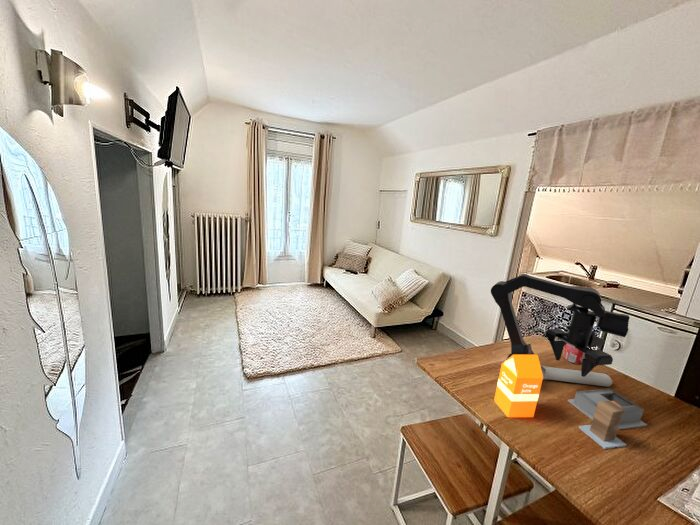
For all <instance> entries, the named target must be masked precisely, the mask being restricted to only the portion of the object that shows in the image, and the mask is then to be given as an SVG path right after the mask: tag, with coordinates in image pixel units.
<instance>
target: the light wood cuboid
mask: <svg viewBox="0 0 700 525" xmlns="http://www.w3.org/2000/svg"><path fill="white" fill-rule="evenodd" d="M623 413H624V410H622V409H621V408H619V407H618V406H616V405H615V404H613V403H612V402H610V401H602V402H598V404H597V407H596V411H595V414H594V417H593V420H592V419H591V420H592V421H591V423H590V425H591V427H590V431H591V432H592V433H594V434H595V435H596V436H598V437H599V438H600V439H601V440H603V441H610V440H615V437H617V433H618V431H619V430H618V428H619V425H620V422H621V419H622V416H623Z"/></svg>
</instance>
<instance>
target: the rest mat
mask: <svg viewBox="0 0 700 525" xmlns="http://www.w3.org/2000/svg"><path fill="white" fill-rule="evenodd" d="M590 427H591V424H584V425H578V429H579V430H580V431H582V432H583V433H584V434H586V435H587V436H588V437H589V438H591V439H592V441H594V442H595V443H596V444H597V445H599V446H600V447H601V448H602V449H604V450H608V449H615V447H617V448H624V447H626V446H627V443H625V442H624V441H623V440H621V439H620V438H618V436H616V437H615V440H610V441H603V440H601V439H600V438H599V437H598V436H596V435H595V434H594V433H592V432H591V431H590Z"/></svg>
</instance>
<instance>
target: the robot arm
mask: <svg viewBox="0 0 700 525" xmlns="http://www.w3.org/2000/svg"><path fill="white" fill-rule="evenodd" d="M523 287H525V288H529V289H532V290H536V291H539V292H543V293H546V294H550V295H553V296H556V297H560V298H563V299H565V300H567V301H569V302H571V303H572V304H568V305H567V306H566V310H567V311H570V312H572V316H571V319H570V323H569V325H566V326H565V329H567V330H568V332H566V331H564V330H562V329H560V328H548V329H547V330H545V333H544V337H547V341H549V344H550V346H551V349H552V352H553V354H554V358H555V360H556V361H560V360H561V357H562V356H563V352H564V348H565V344H566V343H567V344H569V345H571V346H573V347H575V348H577V349H578V350H580V351H582V352H584V353H585V354H584V358H583V360H582V362H581V370H580V371H581V376H582V377H585V376H586V375H587V374H588V373H589V372H592V370H593V369H594V368H596V367H597V366H606V365H607V366H608V365H609V366H610V365H612V364H613V362H614V361H613V360H614V359H613V356H612V355H611V354H609V353H608V352H605V351H603V350H601V347H602V346H603V344H604V342H605V341H606V340H605V339H603V338H601V337H600V336H597V335H596V331H594V330H593V329H594V326H595V323H596V327H597V328H599V329H598V330H599V331H600V332H601V333H602V332H603V333H606V334H610V335H614V336H618V337H622V338H626V336H627V335H628V332H629V322H630V318H631V317H630V316H629V315H628V314H626V313H617V312H613V311H608V310H606V308H605V306H604V305H603V304H602V297H601V293H600V292H599V291H598V290H597V289H595V288H593V287H588V286H578V285H566V284H563V283H559V282H554V281H551V280H547V279H543V278H541V277H540V278H539V277H535V276H533V275H530V274H527V273H522V274H520V275H518V276H516V277H514V278H511V279H508V280H506V281H504V280H502V281H498V282H496V283H495V284H493V286H492V287H491V289H490V294H491V297H492V298H493V301H494V303H496V304H497V305H498V307H499V309H500V312H501V314H502V318H503V322H504V324H505V328H506V331H507V335H508V338H509V342H510V343H511V346H510V347H511V348H510V352H511V353H508V355H507V357H506V359H505V361H506V360H507V359H508V358H510V357H511V356H512V355H535V353H534V351H533V349H532V343H528V344H527V343H526V342H525V340H524V337H523V334H522V331H521V328H520V325H519V321H518V319H517V315H516V311H515V309H514V306H513V292H515V291H517V290H519V289H521V288H523ZM596 318H597V322H596ZM594 346H595V347H597V348H598V349H591V348H593V347H594ZM498 377H499V374H498Z"/></svg>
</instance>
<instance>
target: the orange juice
mask: <svg viewBox="0 0 700 525" xmlns="http://www.w3.org/2000/svg"><path fill="white" fill-rule="evenodd" d="M506 359H507V358H506ZM506 359H505V361H503V362H502V363H501V366H500V369H499V373H498V375H499V376H498V379H497V384H496V390H495V393H494V394H495V395H494V400H493V401H494V403H495V404H496V405H497V406H498V408H499V409H500V410H501V411H502V412H503V413H504V414H505V416H506V417H507V418H534V416H535V411H536V408H537V403H538V401H539V396H540V392H541V388H542V383H543V380H544V379H543V375H542V371H541V366H542V365H541V363H540V358H539V356H538V354H534V355H512V356H511V357H510V358H508V359H507V360H506Z"/></svg>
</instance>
